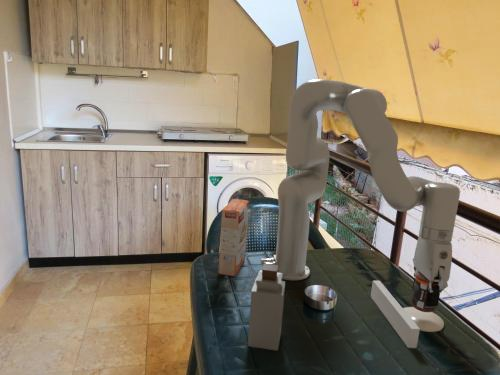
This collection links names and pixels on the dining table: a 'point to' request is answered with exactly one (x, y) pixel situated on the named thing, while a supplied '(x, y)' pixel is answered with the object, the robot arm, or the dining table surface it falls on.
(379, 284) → the low wall
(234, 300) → the dining table surface
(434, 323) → the resting pad
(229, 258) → the cracker box
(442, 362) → the dining table surface
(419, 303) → the supplement bottle
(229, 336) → the dining table surface
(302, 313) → the dining table surface
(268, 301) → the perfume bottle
